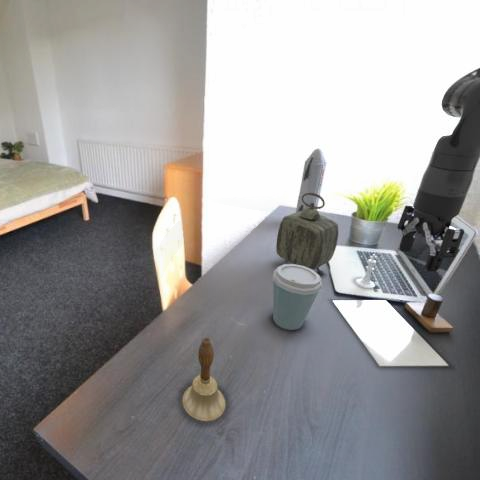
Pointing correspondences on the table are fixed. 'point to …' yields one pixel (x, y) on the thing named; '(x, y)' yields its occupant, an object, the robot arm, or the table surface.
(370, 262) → the chess piece
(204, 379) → the hand bell
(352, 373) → the table surface
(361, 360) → the table surface
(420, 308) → the stamp
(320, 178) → the rocket model
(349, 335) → the table surface
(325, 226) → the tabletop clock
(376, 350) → the tile
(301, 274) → the disposable coffee cup
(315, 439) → the table surface
